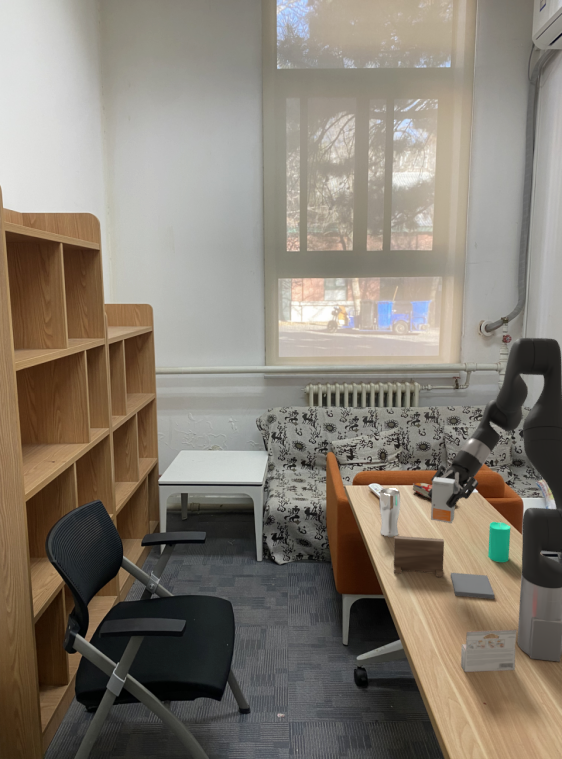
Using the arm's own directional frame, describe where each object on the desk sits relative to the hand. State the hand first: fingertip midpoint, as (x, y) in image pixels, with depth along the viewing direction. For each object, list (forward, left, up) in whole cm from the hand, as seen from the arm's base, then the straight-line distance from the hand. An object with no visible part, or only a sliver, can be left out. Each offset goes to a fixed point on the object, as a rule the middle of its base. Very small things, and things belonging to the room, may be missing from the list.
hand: (439, 501), depth 151 cm
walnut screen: (0, +5, -22) cm, 22 cm away
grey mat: (-7, -9, -22) cm, 24 cm away
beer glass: (+24, +13, -22) cm, 35 cm away
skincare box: (+1, -1, -6) cm, 6 cm away
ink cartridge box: (-40, -7, -22) cm, 46 cm away
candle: (+12, -20, -22) cm, 32 cm away
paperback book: (+59, -5, -22) cm, 63 cm away
